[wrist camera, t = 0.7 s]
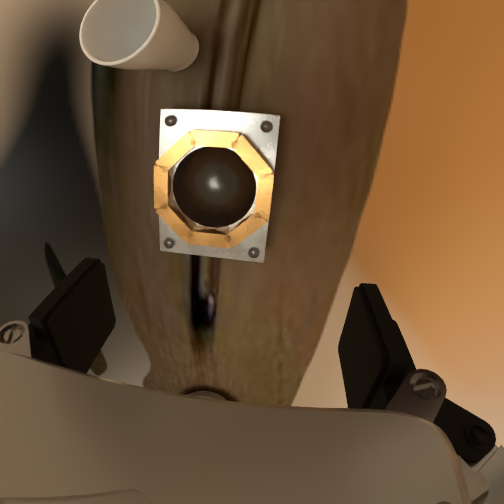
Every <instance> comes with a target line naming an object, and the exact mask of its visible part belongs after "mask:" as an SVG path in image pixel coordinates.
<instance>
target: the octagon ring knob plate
mask: <svg viewBox="0 0 504 504" xmlns="http://www.w3.org/2000/svg"><path fill="white" fill-rule="evenodd" d="M279 123H280V115H276V114H266V113H256V112H244V111H230V110H213V109H181V108H171V109H161V116H160V142H159V159H158V160H157V161H156V162H155V163H156V165H154V208H157V210H156V212H157V213H158V214H159V229H160V251H167V252H176V253H184V254H193V255H201V256H210V257H219V258H227V259H236V260H245V261H254V262H263V263H264V255H265V247H266V238H267V230H268V221H269V215H270V206H271V198H272V189H273V180H274V169H275V160H276V151H277V142H278V133H279Z"/></svg>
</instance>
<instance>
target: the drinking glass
mask: <svg viewBox="0 0 504 504" xmlns="http://www.w3.org/2000/svg"><path fill="white" fill-rule="evenodd" d="M79 36H80V37H79V38H80V45H81V48H82V50H83V52H84V53H85V55H86V56H87V57H88V58H89V59H90V60H91V61H93V62H95V63H97V64H100V65H105V66H109V67H113V68H119V69H126V70H165V71H171V72H175V71H181V70H183V69H185V68H187V67H189V66H190V65H191V64H192V63H193V62H194V61H195V59H196V58H197V55H198V52H199V42H198V39H197V37H196V36H195V35H194V34H193V33H192V32H191V31H190V30H189V29H188V27H187V26H186V25H185V23H184V22H183V21H182V20H181V18H180V17H179V16H178V14H177V13H176V12H175V10H174V9H173V8H172V7H171V6H170V5H169V4H168V3H167V2H166V1H165V0H95V2H93V4H92V5H91V6H90V7H89V9H88V11H87V12H86V14H85V16H84V18H83V21H82V23H81V26H80V34H79Z"/></svg>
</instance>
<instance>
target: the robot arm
mask: <svg viewBox="0 0 504 504" xmlns="http://www.w3.org/2000/svg"><path fill="white" fill-rule="evenodd" d="M28 318H29V320H30V324H29V325H27V324H26V323H25V322H22V321H11V322H9V323H6V324H5V325H3V326H2V327H1V328H0V504H504V448H503V446H502V445H501V446H500V447H499V448H498V447H497V446H496V445H495V441H496V437H495V433H494V430H493V428H492V427H491V426H490V425H489V424H488V423H487V422H485V421H484V420H482V419H480V418H479V417H477V416H475V415H474V414H472V413H470V412H468V411H467V410H465V409H463V408H462V407H460V406H458V405H457V404H455V403H453V402H452V401H450V400H448V399H447V398H445V396H446V391H447V390H446V385H445V383H444V381H443V380H442V379H441V378H440V376H439V375H437V374H436V373H434V372H432V371H429V370H426V369H416V368H415V365H414V363H413V360H412V358H411V355H410V353H409V350H408V348H407V346H406V343H405V341H404V338H403V336H402V334H401V331H400V329H399V327H398V324H397V323H396V321H394V320H392V318H391V315H390V313H389V311H388V309H387V306H386V304H385V302H384V300H383V297H382V295H381V293H380V291H379V289H378V286H377V285H376V284H367V283H361V284H360V285H359V287H355V288H354V291H353V295H352V298H351V302H350V306H349V309H348V313H347V317H346V320H345V324H344V327H343V331H342V334H341V337H340V341H339V345H338V353H339V358H340V363H341V369H342V374H343V380H344V386H345V392H346V398H347V404H348V408H314V407H294V406H277V405H263V404H252V403H242V402H233V401H224V400H216V399H209V398H202V397H195V396H189V395H182V394H176V393H171V392H165V391H160V390H155V389H150V388H145V387H140V386H135V385H130V384H126V383H122V382H117V381H113V380H109V379H105V378H101V377H97V376H93V375H90V374H87V372H88V370H89V368H90V367H91V365H92V363H93V361H94V360H95V358H96V356H97V355H98V353H99V351H100V350H101V348H102V346H103V345H104V343H105V341H106V340H107V338H108V336H109V335H110V333H111V332H112V330H113V328H114V326H115V322H116V319H115V314H114V310H113V305H112V301H111V296H110V291H109V286H108V281H107V275H106V270H105V265H104V264H103V263H101V261H100V260H99V259H95V258H85V259H84V260H82V261H81V263H79V264H78V265H77V266H76V267H75V268H74V269H73V270H72V271H71V272H70V274H68V275H67V276H66V277H65V278H64V279H63V280H62V281H61V282H60V283H59V285H58V286H57V287H56V288H55V289H54V290H53V291H52V292H51V293H50V294H49V295H48V296H47V297H46V298H45V299H44V300H43V301H42V303H41V304H40V305H39V306H38V307H37V308H36V309H35V310H34V311H33V312H32V313H31V315H30V316H29V317H28Z"/></svg>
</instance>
